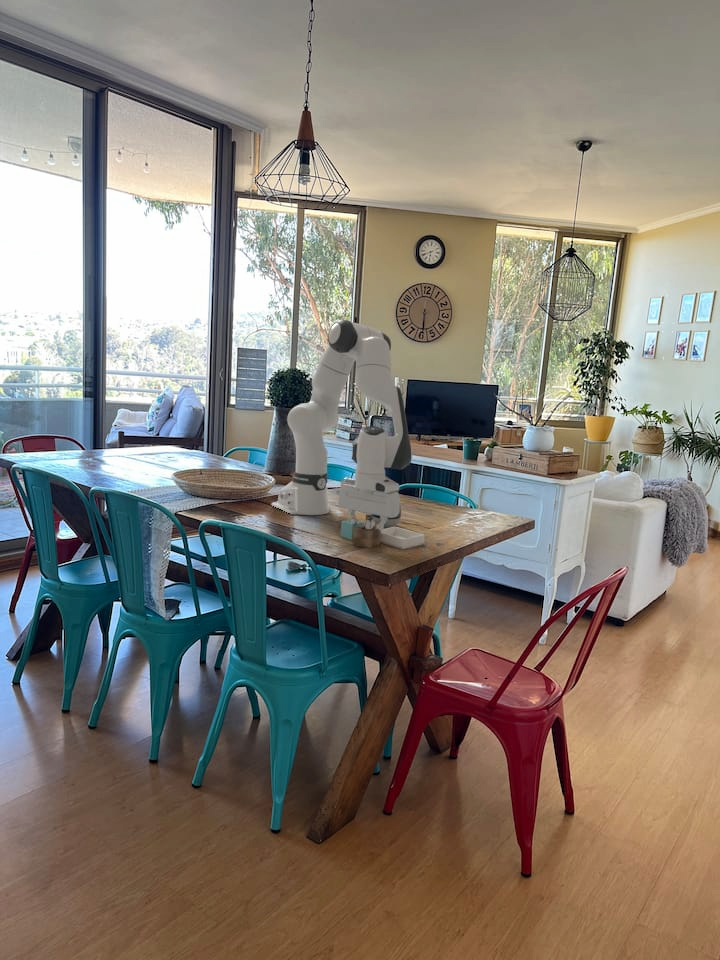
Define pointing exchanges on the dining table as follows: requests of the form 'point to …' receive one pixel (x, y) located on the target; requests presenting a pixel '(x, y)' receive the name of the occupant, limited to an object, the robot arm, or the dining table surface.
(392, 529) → the tray
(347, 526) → the teal block
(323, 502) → the robot arm
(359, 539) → the walnut block
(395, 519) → the dark grey egg shape
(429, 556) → the dining table surface
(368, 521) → the pin gauge
